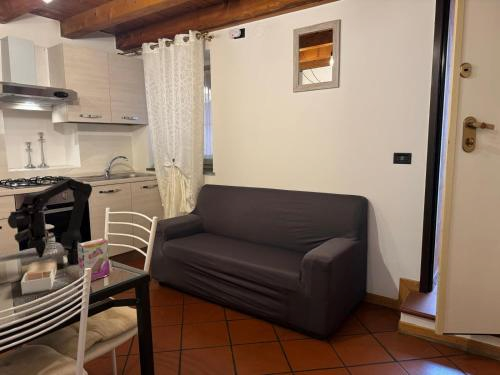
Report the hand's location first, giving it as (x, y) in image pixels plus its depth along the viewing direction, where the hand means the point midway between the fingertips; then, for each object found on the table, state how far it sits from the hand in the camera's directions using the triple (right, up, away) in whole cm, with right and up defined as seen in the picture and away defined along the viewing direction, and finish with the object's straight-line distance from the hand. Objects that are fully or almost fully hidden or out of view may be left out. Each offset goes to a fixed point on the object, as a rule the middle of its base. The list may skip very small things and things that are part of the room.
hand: (40, 257), depth 150 cm
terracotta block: (+3, -7, -8) cm, 11 cm away
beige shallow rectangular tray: (0, -8, +2) cm, 9 cm away
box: (+5, -10, -10) cm, 15 cm away
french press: (-17, -4, +33) cm, 37 cm away
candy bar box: (+25, -9, -2) cm, 27 cm away
